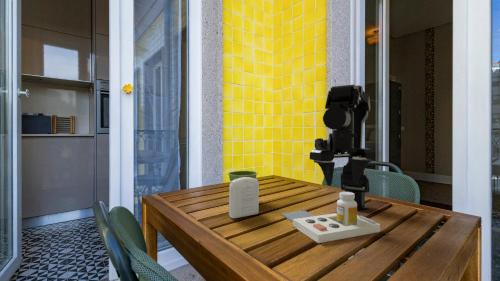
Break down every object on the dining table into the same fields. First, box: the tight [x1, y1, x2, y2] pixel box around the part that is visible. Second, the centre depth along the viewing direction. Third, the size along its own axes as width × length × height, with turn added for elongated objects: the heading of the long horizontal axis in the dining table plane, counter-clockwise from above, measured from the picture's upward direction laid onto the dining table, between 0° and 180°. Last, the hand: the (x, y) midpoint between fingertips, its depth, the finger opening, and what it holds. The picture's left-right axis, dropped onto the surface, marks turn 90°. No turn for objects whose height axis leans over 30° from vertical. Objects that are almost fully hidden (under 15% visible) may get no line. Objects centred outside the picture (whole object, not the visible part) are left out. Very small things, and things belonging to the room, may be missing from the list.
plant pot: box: [227, 170, 258, 182], centre depth 98 cm, size 12×12×11 cm
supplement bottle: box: [336, 191, 358, 226], centre depth 71 cm, size 5×5×10 cm
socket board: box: [292, 212, 381, 244], centre depth 70 cm, size 20×12×3 cm, turn 110°
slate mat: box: [280, 210, 315, 223], centre depth 79 cm, size 9×9×1 cm
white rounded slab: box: [228, 177, 260, 219], centre depth 81 cm, size 10×4×12 cm, turn 123°
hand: (342, 184), depth 71 cm, fingers open, 9 cm apart
